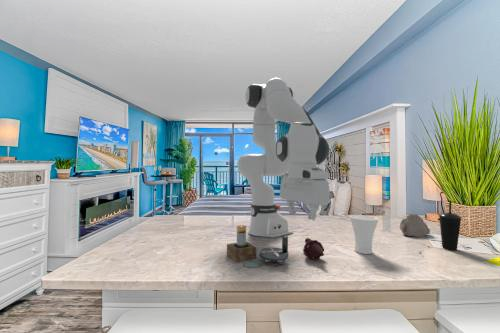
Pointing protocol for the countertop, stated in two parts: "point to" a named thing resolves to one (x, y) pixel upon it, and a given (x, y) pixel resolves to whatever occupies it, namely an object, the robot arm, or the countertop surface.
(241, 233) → the orange topped grey cylinder
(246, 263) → the coaster
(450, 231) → the drinking cup
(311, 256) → the maroon cone figure
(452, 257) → the countertop surface
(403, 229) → the pumice stone
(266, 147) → the robot arm
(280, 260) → the wheel post
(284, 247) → the handwheel
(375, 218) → the cup
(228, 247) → the block
